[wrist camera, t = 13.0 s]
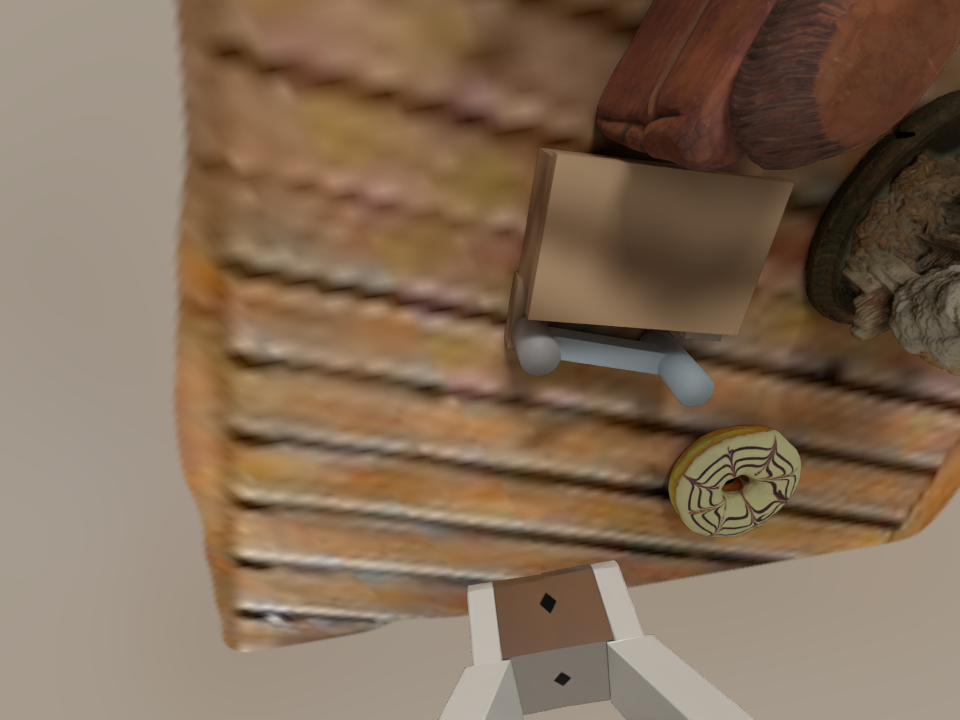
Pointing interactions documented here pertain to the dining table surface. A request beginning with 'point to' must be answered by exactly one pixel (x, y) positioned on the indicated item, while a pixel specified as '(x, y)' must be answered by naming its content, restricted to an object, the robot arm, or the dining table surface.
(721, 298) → the tan boxy piece
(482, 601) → the robot arm
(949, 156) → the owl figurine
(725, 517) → the decorated donut
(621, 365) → the lever handle with knob
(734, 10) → the wooden figurine
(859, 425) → the dining table surface
